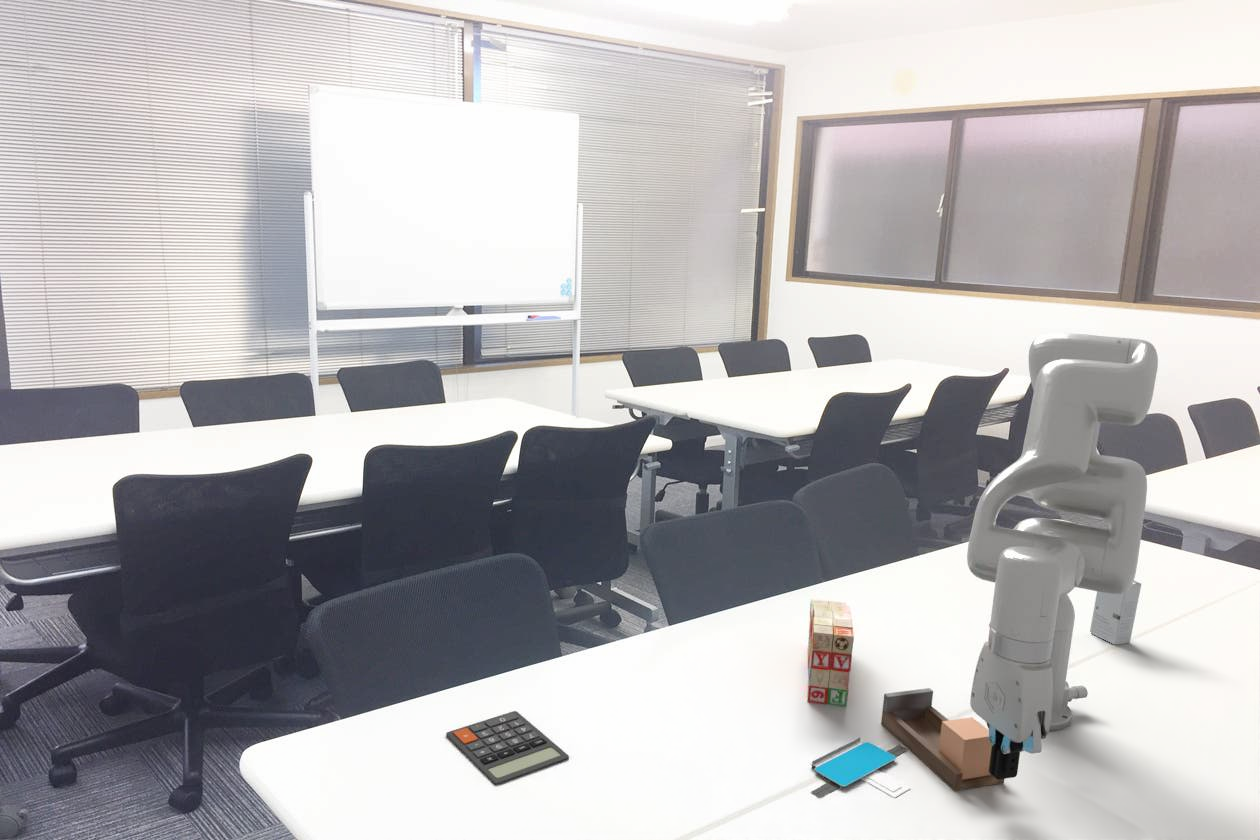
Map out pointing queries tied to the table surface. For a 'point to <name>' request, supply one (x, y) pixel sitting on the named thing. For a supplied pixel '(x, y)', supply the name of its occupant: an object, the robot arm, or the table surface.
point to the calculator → (506, 747)
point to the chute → (925, 735)
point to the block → (966, 746)
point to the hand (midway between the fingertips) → (1002, 774)
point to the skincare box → (1115, 615)
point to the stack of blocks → (829, 652)
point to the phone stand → (858, 768)
